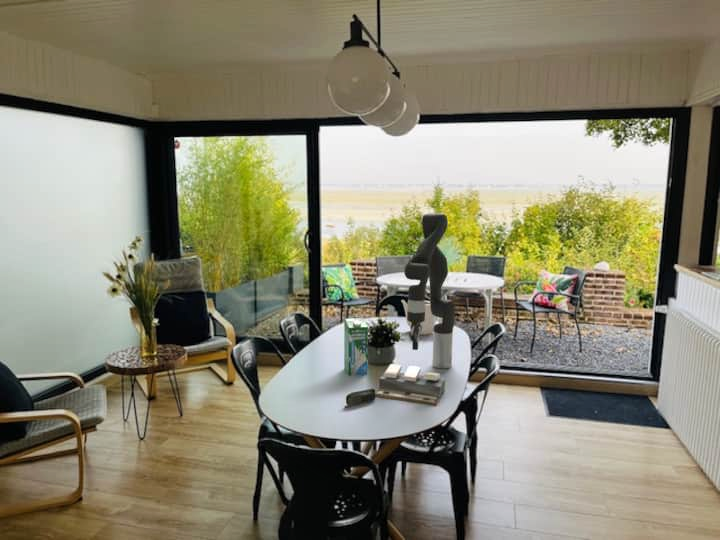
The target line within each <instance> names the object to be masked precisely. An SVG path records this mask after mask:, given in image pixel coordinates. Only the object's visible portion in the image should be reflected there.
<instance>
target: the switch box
mask: <svg viewBox="0 0 720 540" xmlns="http://www.w3.org/2000/svg"><path fill="white" fill-rule="evenodd" d="M405 373H406V372H399V375H397V377H396V378H390V377H384V373H383V374H382V375H381V376H380V377H379V385H378V386H379V388H378V389H377V390H376V391H375V397H379V398H386V399H392V400H399V401H406V402H411V403H418V404H424V405H429V406H437V405H438V403H439V401H440V399H441V398H442V396H443V395H444V393H445V389H446V386H445V385H446V379H445V378H441V377H440V378H439V379H438V380H437V381H435V380H427V379H424V375H420V374H419V375H418V378H417V379H416V381H408V380H404V375H405Z"/></svg>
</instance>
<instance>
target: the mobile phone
mask: <svg viewBox="0 0 720 540" xmlns="http://www.w3.org/2000/svg"><path fill="white" fill-rule="evenodd" d="M375 393H376V389H375V388H368V389H363V390H358V391H352V392H350V393H349V394H347V395H346V396H345V403H346V405H345V406H344V408H350V407H353V406H358V405H361V404H366V403H370V402H373V400H374V401H375V400H376V396H375Z"/></svg>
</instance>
